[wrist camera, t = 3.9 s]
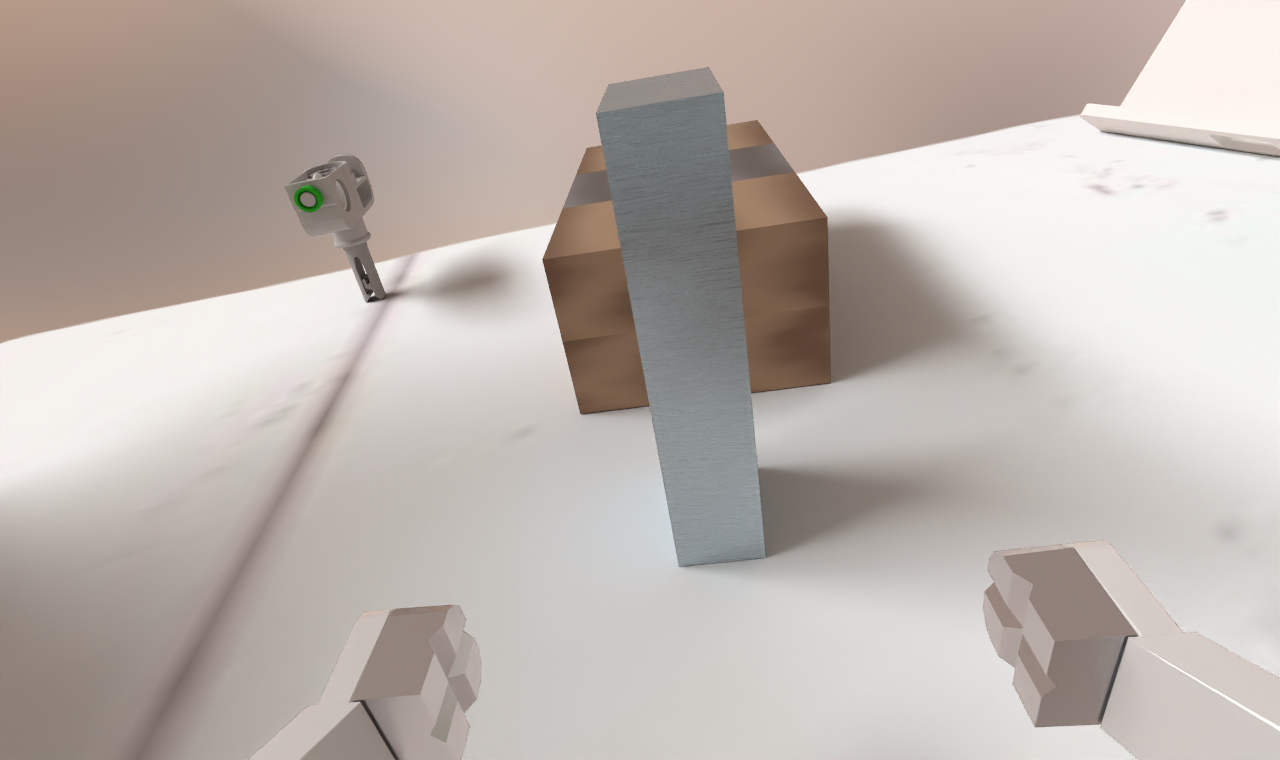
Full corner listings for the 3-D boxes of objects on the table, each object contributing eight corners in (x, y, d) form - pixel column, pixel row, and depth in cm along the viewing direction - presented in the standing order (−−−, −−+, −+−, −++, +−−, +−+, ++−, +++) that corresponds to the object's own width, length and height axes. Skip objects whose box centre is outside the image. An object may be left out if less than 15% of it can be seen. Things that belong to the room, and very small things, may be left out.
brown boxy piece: (580, 414, 33) (542, 259, 29) (607, 254, 52) (586, 148, 48) (830, 382, 32) (827, 217, 28) (764, 231, 51) (757, 120, 47)
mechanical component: (406, 271, 56) (362, 148, 51) (380, 322, 47) (324, 179, 42) (371, 277, 56) (323, 155, 51) (338, 330, 47) (277, 188, 42)
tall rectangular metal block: (678, 566, 23) (595, 113, 16) (675, 475, 28) (608, 84, 20) (765, 557, 23) (723, 91, 16) (748, 466, 27) (708, 67, 20)
